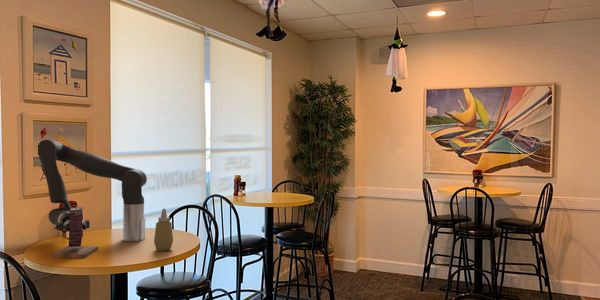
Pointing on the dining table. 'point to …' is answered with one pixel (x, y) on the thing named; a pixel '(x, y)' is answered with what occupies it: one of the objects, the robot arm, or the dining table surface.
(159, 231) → the squeeze bottle
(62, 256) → the walnut board
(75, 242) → the supplement box
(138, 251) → the dining table surface
